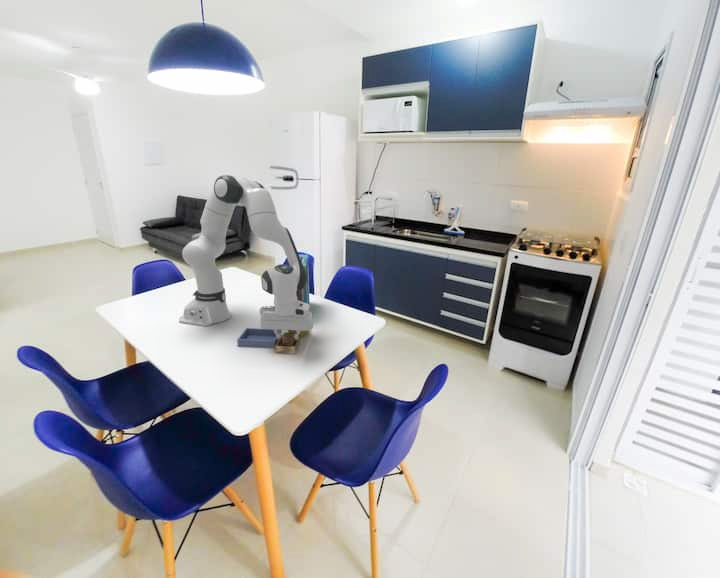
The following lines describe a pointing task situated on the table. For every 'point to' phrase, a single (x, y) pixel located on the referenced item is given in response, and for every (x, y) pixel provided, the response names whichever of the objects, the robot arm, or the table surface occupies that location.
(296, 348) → the wooden serving tray
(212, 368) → the table surface
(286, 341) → the walnut block
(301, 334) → the flower pot
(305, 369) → the table surface
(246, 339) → the blue tray
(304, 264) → the game box
